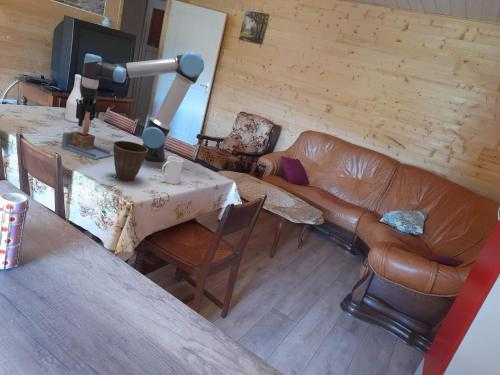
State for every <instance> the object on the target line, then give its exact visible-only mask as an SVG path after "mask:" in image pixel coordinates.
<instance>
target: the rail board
mask: <svg viewBox="0 0 500 375" xmlns="http://www.w3.org/2000/svg"><path fill="white" fill-rule="evenodd" d="M73 132H78V130H76V131H73V130H72V131H65V132H63V134H62V142H61V149H65V150H66V151H69V152H73V153H75V154H78V155H80V156H82V157H86V158H87V159H89V160H93V161H98V160H101V159H105V158H110V157H113V156H114V153H113V154H112V153H111V150H107V149H105V148H102V147H100V146H96V145H95V144H94V147H93V149H89V150H84V149H81V148H78V147H76V146H73V145H70V138H71V133H73Z"/></svg>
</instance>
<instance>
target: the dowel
mask: <svg viewBox="0 0 500 375" xmlns="http://www.w3.org/2000/svg"><path fill="white" fill-rule="evenodd" d="M89 117H90V112H88V111H87V110H86V113H85V117H84V121H85V124H84V132H83V133H81V132H80V133H79V135H81V136H87V133H89V132H88V124H89Z"/></svg>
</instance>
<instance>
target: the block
mask: <svg viewBox="0 0 500 375" xmlns="http://www.w3.org/2000/svg"><path fill="white" fill-rule="evenodd" d="M72 132H73V131H72ZM79 133H80V132H73V133H71V138H70V145H73V146H76V147H78V148H81V149H84V150H89V149H93V147H94V145H95V140H96V136H95V135H92V134H91V133H89V132H87V136H81V135H79Z"/></svg>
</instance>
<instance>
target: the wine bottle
mask: <svg viewBox="0 0 500 375" xmlns="http://www.w3.org/2000/svg"><path fill="white" fill-rule="evenodd" d="M81 81H82V75H81V74H75V75H74V84H73V89H72V90H71V92H70V94H69V95H68V98H67V100H66V104H65V105H66V106H65V114H64V119H65V121H68V122H71V123H79V119H77V118H76V107H77V102H76V99H80V98H81V96H82V94H81V92H80V91H81Z"/></svg>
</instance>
